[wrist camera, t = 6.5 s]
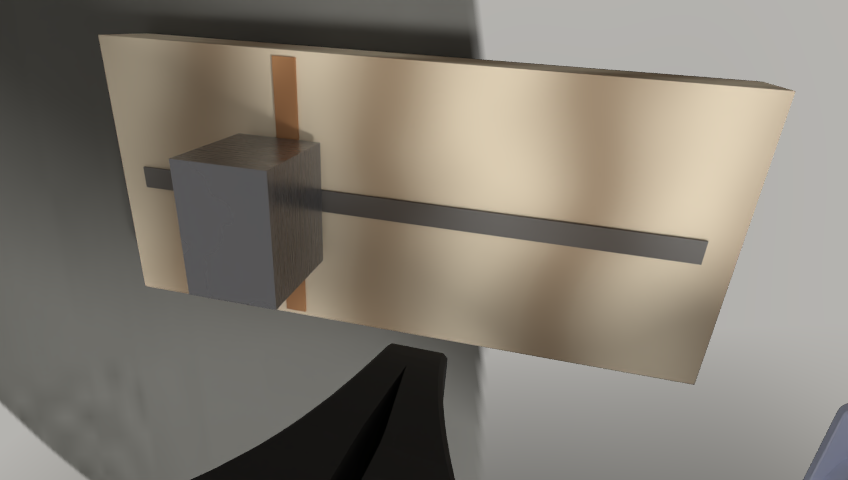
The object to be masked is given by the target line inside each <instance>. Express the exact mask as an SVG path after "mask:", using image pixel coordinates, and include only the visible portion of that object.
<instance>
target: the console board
mask: <svg viewBox="0 0 848 480" xmlns="http://www.w3.org/2000/svg"><path fill="white" fill-rule="evenodd" d="M98 37H99V42H100V47H101V52H102V58H103V63H104V68H105V74H106V79H107V84H108V89H109V95H110V100H111V105H112V111H113V116H114V121H115V127H116V132H117V137H118V142H119V148H120V153H121V158H122V164H123V169H124V174H125V179H126V185H127V190H128V195H129V201H130V206H131V211H132V216H133V222H134V227H135V232H136V238H137V243H138V248H139V254H140V259H141V264H142V269H143V275H144V280H145V285H146V286H149V287H154V288H160V289H166V290H171V291H177V292H182V293H188V294H189V290H188V284H187V277H186V270H185V264H184V257H183V250H182V244H181V237H180V230H179V224H178V217H177V211H176V204H175V197H174V191H173V184H172V177H171V171H170V164H169V158H172V157H174V156H177V155H180V154H183V153H185V152H188V151H191V150H194V149H196V148H199V147H202V146H205V145H208V144H210V143H213V142H216V141H219V140H221V139H224V138H227V137H230V136H232V135H235V134H238V133H241V134H250V135H259V136H267V137H276V138H285V139H294V140H302V141H311V142H320V156H321V195H322V234H323V261H322V262H321V263H320V264H319V265H318V266H317V267H316V268H315V270H314V271H313V272H312V273H311V274H310V275H309V276H308V277H307V278H306V279H305V280H304V281H303V282H302V283H301V284H300V285H299V286H298V288H297V289H296V290H295V291H294V292H293V293H292V294H291V295H290V296H289V297H288V298H287V299H286V300H285V301H284V302H283V303H282V305H281V306H280V307H279V308H278V309H277V310H282V311H288V312H293V313H299V314H304V315H310V316H315V317H321V318H326V319H332V320H338V321H343V322H349V323H354V324H360V325H365V326H371V327H376V328H382V329H388V330H393V331H399V332H404V333H410V334H415V335H421V336H426V337H432V338H437V339H443V340H449V341H454V342H460V343H465V344H471V345H476V346H482V347H487V348H493V349H499V350H504V351H510V352H515V353H521V354H526V355H532V356H537V357H543V358H549V359H554V360H560V361H565V362H571V363H576V364H582V365H587V366H593V367H599V368H604V369H610V370H615V371H621V372H626V373H632V374H638V375H643V376H649V377H654V378H660V379H665V380H670V381H676V382H682V383H687V384H693V385H694V384H695V381H696V379H697V376H698V373H699V370H700V367H701V364H702V361H703V358H704V355H705V353H706V350H707V347H708V344H709V341H710V338H711V335H712V332H713V329H714V326H715V324H716V321H717V317H718V315H719V312H720V309H721V306H722V303H723V300H724V297H725V294H726V291H727V289H728V286H729V283H730V279H731V277H732V274H733V271H734V268H735V265H736V262H737V260H738V257H739V254H740V251H741V248H742V245H743V242H744V239H745V236H746V233H747V231H748V227H749V225H750V222H751V219H752V216H753V213H754V210H755V207H756V204H757V201H758V199H759V196H760V193H761V190H762V187H763V184H764V181H765V178H766V175H767V173H768V169H769V167H770V164H771V161H772V158H773V155H774V152H775V149H776V146H777V143H778V141H779V138H780V135H781V132H782V129H783V126H784V123H785V120H786V118H787V115H788V112H789V109H790V105H791V103H792V100H793V97H794V94H795V91H793V90H789V89H786V88H783V87H779V86H775V85H772V84H769V83H765V82H758V81H746V80H735V79H722V78H709V77H696V76H683V75H671V74H658V73H645V72H633V71H620V70H606V69H595V68H582V67H569V66H556V65H544V64H531V63H517V62H506V61H493V60H480V59H467V58H455V57H442V56H429V55H417V54H404V53H391V52H378V51H366V50H353V49H340V48H328V47H315V46H302V45H289V44H277V43H264V42H251V41H239V40H226V39H213V38H200V37H188V36H175V35H162V34H150V33H141V34H109V35H98Z"/></svg>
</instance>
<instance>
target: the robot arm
mask: <svg viewBox="0 0 848 480" xmlns="http://www.w3.org/2000/svg"><path fill="white" fill-rule="evenodd" d="M446 368H447V357H446V356H445V355H444V354H443V353H439V352H433V351H428V350H423V349H418V348H413V347H408V346H403V345H397V344H390V345H388V346H387V347H386V348H385V349H384V350H383V351H382V352H381V353H379V354H378V355H377V356H376V357H375V358H374V359H373V360H372V361H371V362H370V363H369V364H368V365H367V366H365V367H364V368H363V369H362V370H361V371H360V372H359V373H358V374H356V375H355V376H354V377H353V378H352V379H351V380H349V381H348V382H347V383H346V384H345V385H343V386H342V387H341V388H340V389H339V390H337V391H336V392H335V393H334V394H333V395H331V396H330V397H329V398H327V399H326V400H325V401H323V402H322V403H321V404H319V405H318V406H317V407H315V408H314V409H313V410H311V411H310V412H309V413H307V414H306V415H305V416H303V417H302V418H300V419H299V420H298V421H296V422H295V423H293V424H292V425H290V426H289V427H287V428H286V429H284V430H283V431H281V432H280V433H278V434H276V435H275V436H273V437H271V438H270V439H268V440H267V441H265V442H263V443H262V444H260V445H258V446H256V447H255V448H253V449H251V450H249V451H247V452H246V453H244V454H242V455H240V456H238V457H236V458H234V459H232V460H230V461H228V462H226V463H225V464H223V465H221V466H219V467H217V468H215V469H213V470H211V471H209V472H206V473H204V474H202V475H200V476H198V477H195V478H193V479H191V480H455V478H454V473H453V469H452V464H451V459H450V454H449V448H448V442H447V436H446V429H445V419H444V408H443V397H444V387H445V378H446ZM803 480H848V404H845V405H843V406H841V407H840V408H839V410H838V411H837V413H836V416H835V417H834V419H833V421H832V423H831V425H830V427H829V429H828V431H827V433H826V436H825V437H824V439H823V441H822V443H821V445H820V447H819V449H818V451H817V453H816V455H815V457H814V459H813V461H812V463H811V465H810V467H809V469H808V471H807V473H806V475H805V477H804V479H803Z"/></svg>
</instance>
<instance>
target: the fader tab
mask: <svg viewBox="0 0 848 480" xmlns="http://www.w3.org/2000/svg"><path fill="white" fill-rule="evenodd" d="M169 164H170V171H171V177H172V184H173V191H174V197H175V204H176V211H177V217H178V224H179V230H180V237H181V244H182V250H183V257H184V264H185V270H186V277H187V284H188V290H189V294H191V295H196V296H202V297H207V298H213V299H218V300H224V301H229V302H235V303H241V304H246V305H252V306H257V307H263V308H268V309H274V310H277V309H278V308H279V307H280V306H281V305H282V303H283V302H284V301H285V300H286V299H287V298H288V297H289V296H290V295H291V294H292V293H293V292H294V291H295V290H296V289H297V288H298V286H299V285H300V284H301V283H302V282H303V281H304V280H305V279H306V278H307V277H308V276H309V275H310V274H311V273H312V272H313V271H314V270H315V268H316V267H317V266H318V265H319V264H320V263H321V262H322V261H323V234H322V195H321V156H320V142H311V141H302V140H294V139H285V138H276V137H267V136H259V135H250V134H241V133H238V134H235V135H232V136H230V137H227V138H224V139H221V140H219V141H216V142H213V143H210V144H208V145H205V146H202V147H199V148H196V149H194V150H191V151H188V152H185V153H183V154H180V155H177V156H174V157H172V158H169Z"/></svg>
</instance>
